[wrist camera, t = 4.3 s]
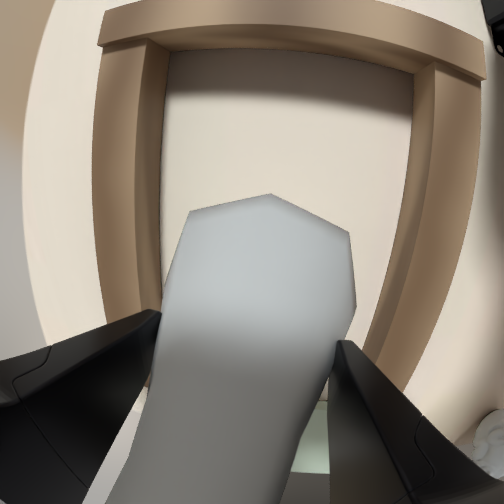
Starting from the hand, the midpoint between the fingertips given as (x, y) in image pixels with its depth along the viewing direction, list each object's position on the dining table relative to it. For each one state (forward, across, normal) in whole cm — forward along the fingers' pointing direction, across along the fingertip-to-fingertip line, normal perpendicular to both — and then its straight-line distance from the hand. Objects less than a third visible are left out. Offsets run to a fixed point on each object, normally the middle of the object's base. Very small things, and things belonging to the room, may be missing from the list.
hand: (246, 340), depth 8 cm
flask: (+3, 0, 0) cm, 3 cm away
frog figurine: (+7, -23, +14) cm, 28 cm away
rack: (+7, 0, -2) cm, 7 cm away
